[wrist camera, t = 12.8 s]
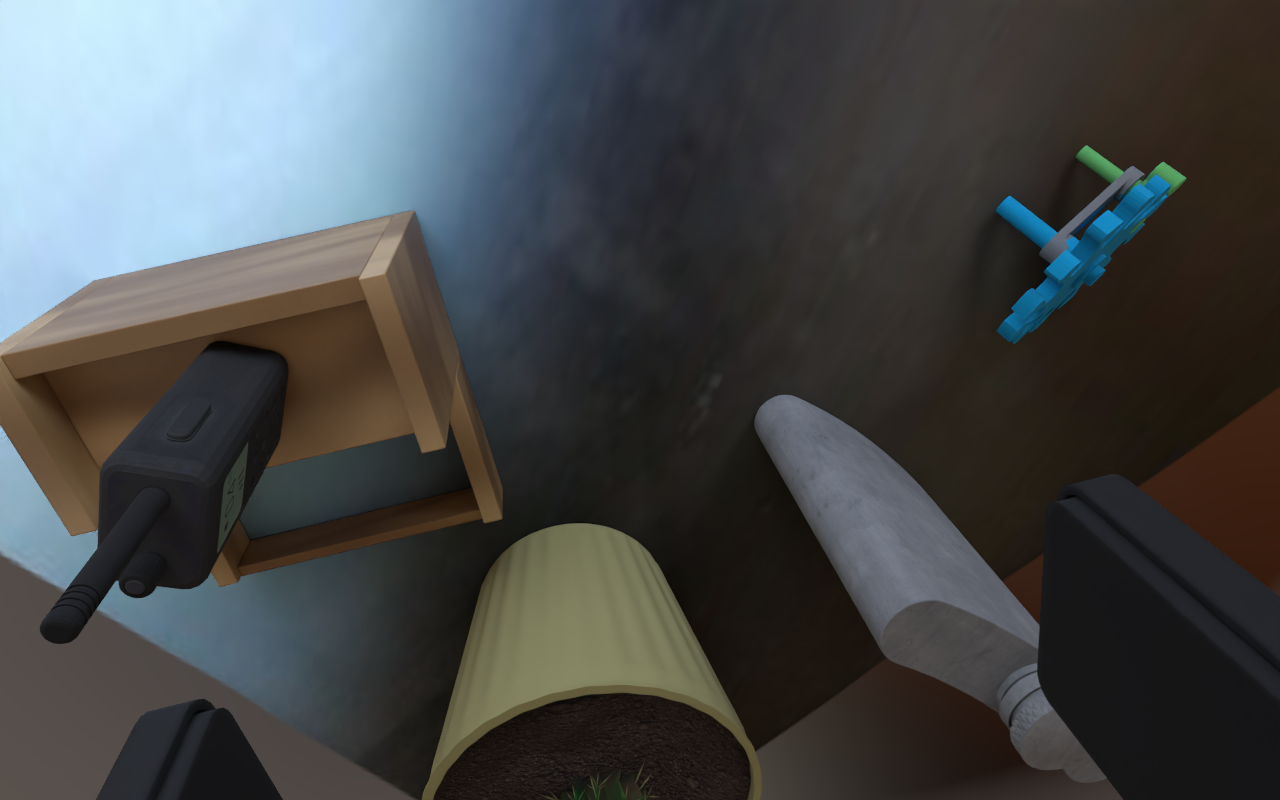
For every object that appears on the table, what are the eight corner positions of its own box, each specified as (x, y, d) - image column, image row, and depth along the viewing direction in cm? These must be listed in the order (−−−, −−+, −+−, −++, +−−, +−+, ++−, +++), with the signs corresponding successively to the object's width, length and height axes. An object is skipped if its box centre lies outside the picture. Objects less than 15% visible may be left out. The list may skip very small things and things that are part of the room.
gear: (1005, 372, 45) (1039, 316, 35) (924, 302, 47) (937, 231, 37) (1158, 234, 44) (1235, 139, 34) (1070, 168, 46) (1120, 62, 37)
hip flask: (742, 425, 46) (891, 694, 28) (792, 372, 45) (980, 617, 27) (916, 555, 52) (1129, 844, 34) (964, 511, 51) (1209, 786, 33)
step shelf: (93, 280, 37) (-37, 367, 28) (414, 209, 38) (384, 272, 29) (236, 552, 44) (168, 689, 36) (503, 489, 45) (501, 607, 36)
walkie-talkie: (279, 451, 34) (127, 746, 20) (191, 436, 33) (-29, 734, 19) (293, 347, 32) (135, 595, 18) (199, 328, 31) (-37, 574, 18)
